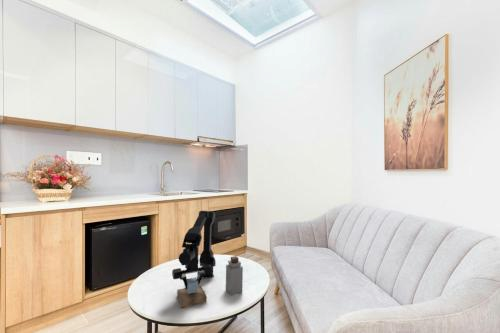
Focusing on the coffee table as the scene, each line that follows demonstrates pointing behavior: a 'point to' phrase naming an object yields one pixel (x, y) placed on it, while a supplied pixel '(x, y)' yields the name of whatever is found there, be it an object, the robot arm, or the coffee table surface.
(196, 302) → the walnut plinth
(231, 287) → the perfume bottle
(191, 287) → the slate block
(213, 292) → the coffee table surface
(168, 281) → the coffee table surface
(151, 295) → the coffee table surface
